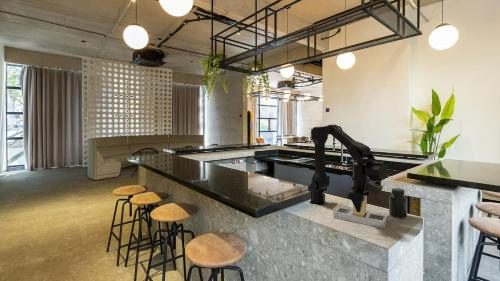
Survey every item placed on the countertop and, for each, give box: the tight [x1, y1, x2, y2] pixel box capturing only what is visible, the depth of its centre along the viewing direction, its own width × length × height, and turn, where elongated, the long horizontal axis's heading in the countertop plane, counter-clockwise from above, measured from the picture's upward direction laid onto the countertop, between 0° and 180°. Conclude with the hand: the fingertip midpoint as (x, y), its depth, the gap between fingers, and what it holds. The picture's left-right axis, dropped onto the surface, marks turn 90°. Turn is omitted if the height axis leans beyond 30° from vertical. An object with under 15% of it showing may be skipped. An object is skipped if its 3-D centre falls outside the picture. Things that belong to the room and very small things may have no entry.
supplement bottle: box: [388, 187, 408, 220], centre depth 108 cm, size 7×7×12 cm
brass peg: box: [352, 195, 368, 217], centre depth 105 cm, size 4×4×10 cm
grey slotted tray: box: [332, 207, 388, 229], centre depth 105 cm, size 20×8×2 cm, turn 54°
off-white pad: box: [332, 203, 353, 211], centre depth 118 cm, size 10×9×1 cm
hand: (359, 210), depth 105 cm, fingers closed on brass peg, 4 cm apart
